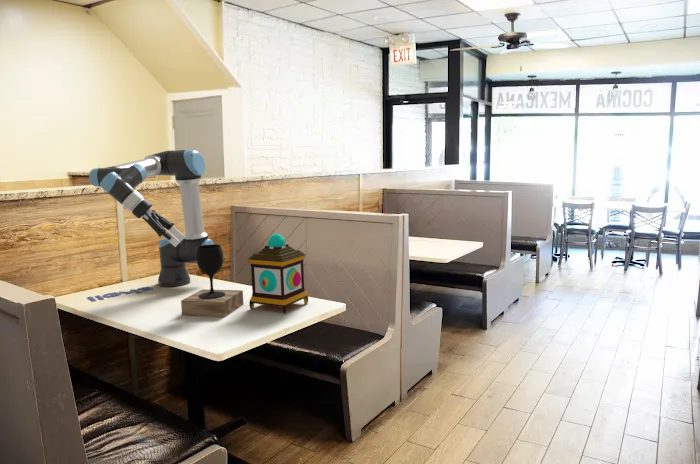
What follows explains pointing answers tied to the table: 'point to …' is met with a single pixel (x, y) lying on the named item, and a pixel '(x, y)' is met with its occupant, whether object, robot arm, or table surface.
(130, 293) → the signage
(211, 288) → the wine glass
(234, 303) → the walnut block
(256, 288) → the decorative lantern
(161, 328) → the table surface
